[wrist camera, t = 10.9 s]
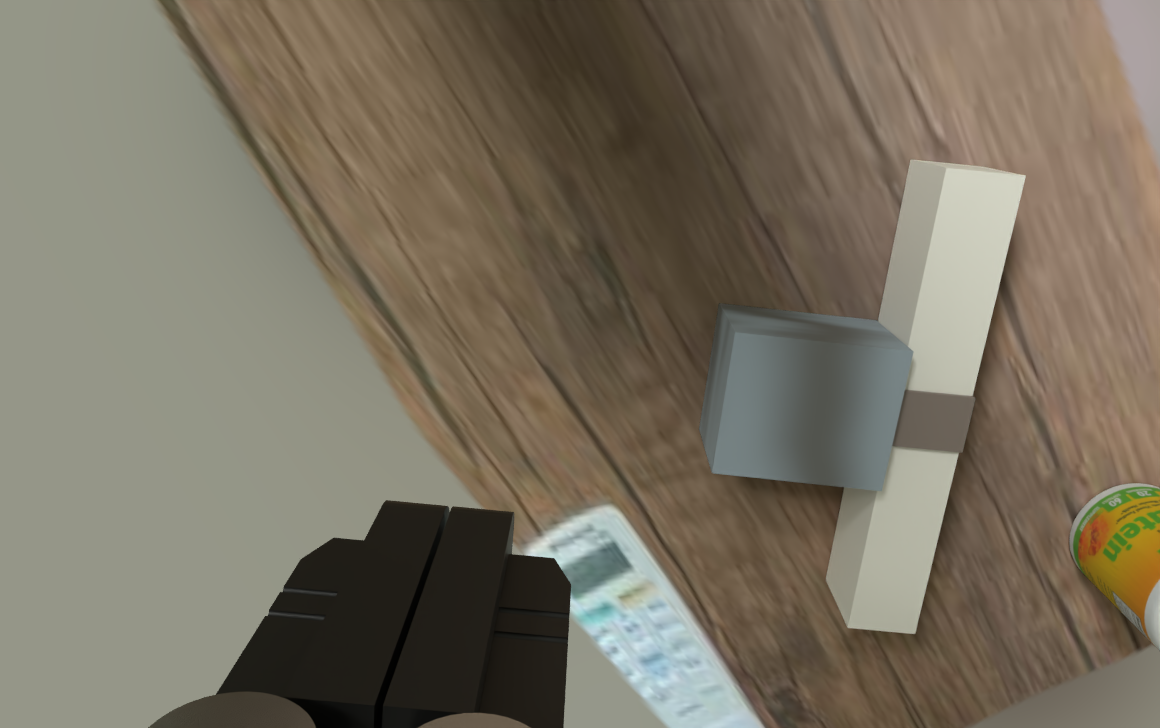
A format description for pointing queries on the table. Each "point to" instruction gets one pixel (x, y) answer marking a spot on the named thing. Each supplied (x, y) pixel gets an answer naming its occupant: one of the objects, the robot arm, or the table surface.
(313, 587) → the robot arm
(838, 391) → the block
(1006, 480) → the table surface
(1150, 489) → the supplement bottle
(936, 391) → the cream rectangular bar
